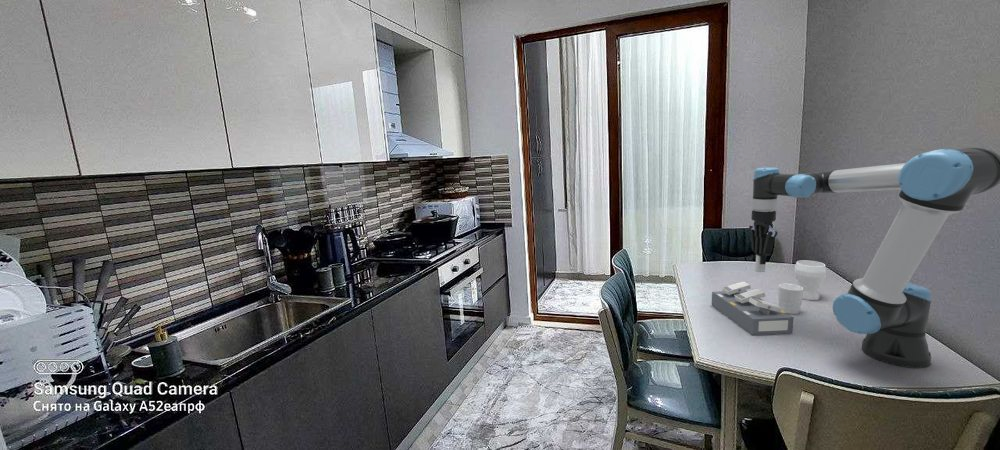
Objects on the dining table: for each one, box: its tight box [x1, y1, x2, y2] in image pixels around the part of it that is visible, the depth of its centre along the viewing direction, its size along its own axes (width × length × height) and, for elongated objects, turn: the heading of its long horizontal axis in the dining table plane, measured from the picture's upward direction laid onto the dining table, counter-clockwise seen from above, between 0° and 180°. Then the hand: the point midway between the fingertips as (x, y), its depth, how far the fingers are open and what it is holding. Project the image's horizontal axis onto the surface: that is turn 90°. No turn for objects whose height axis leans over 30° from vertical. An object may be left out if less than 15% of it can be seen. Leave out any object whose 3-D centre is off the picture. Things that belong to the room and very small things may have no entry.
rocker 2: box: [734, 288, 766, 303], centre depth 152 cm, size 5×9×2 cm, turn 89°
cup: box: [793, 259, 827, 301], centre depth 169 cm, size 11×11×15 cm
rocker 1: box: [721, 281, 752, 295], centre depth 160 cm, size 5×9×2 cm, turn 89°
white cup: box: [778, 283, 803, 315], centre depth 157 cm, size 8×8×10 cm
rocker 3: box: [749, 297, 782, 312], centre depth 143 cm, size 5×9×2 cm, turn 89°
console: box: [711, 290, 795, 336], centre depth 152 cm, size 28×14×8 cm, turn 179°
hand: (759, 271), depth 150 cm, fingers closed
